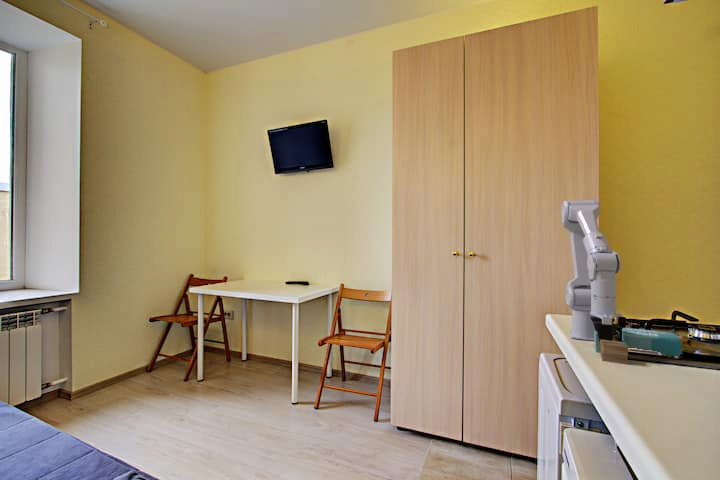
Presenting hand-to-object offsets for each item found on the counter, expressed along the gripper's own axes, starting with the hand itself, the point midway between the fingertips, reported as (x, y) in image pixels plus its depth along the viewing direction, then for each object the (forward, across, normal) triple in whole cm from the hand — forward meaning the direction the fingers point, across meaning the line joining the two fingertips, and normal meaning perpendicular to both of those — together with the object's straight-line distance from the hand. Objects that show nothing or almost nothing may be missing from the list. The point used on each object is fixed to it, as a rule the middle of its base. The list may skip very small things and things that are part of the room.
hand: (603, 346), depth 96 cm
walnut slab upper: (0, -8, -1) cm, 8 cm away
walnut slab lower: (+2, -8, -1) cm, 8 cm away
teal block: (+2, 0, 0) cm, 2 cm away
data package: (-1, 0, -10) cm, 11 cm away
